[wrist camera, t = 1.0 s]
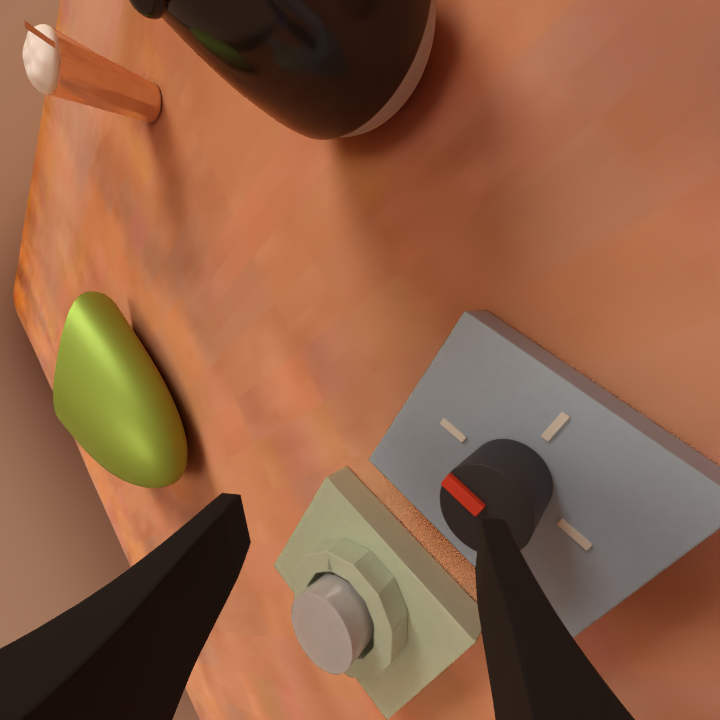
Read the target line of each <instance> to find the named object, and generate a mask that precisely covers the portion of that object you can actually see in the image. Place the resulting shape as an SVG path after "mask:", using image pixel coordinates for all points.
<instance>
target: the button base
mask: <svg viewBox="0 0 720 720" xmlns="http://www.w3.org/2000/svg"><path fill="white" fill-rule="evenodd" d="M274 567H275V568H276V569H277V571H278V572H279V574H280V575H281V576H282V578H283V579H284V580H285V582H286V583H287V585H288V586H289V587H290V589H291V590H292V591H293V593H294V600H295V598H296V597H297V596H298V595H299V594H300V593H301V592H303V591H304V590H305V589H306V588H308V587H309V586H310V585H311V584H312V583H314V582H315V581H316V580H317V579H318V578H320V577H321V576H322V575H325V574H336V575H339V576H340V577H342V578H344V579H346V580H348V581H349V582H350V584H351V585H352V586H353V587H354V588H355V590H356V591H357V592H358V593H359V595H360V596H361V597H362V598H363V600H364V601H365V602H366V605H367V608H368V610H369V613H370V616H371V618H372V621H373V636H372V639H371V642H370V643H369V645H368V646H367V647H366V648H365V650H364V651H363V652H362V653H361V654H360V656H359V657H358V658H357V659H356V660H355V662H354V663H353V664H352V665H351V666H350V668H349V669H348V670H347V671H346V672H344V673H345V674H346V675H347V676H349V677H352V678H356V679H357V680H358V682H359V683H360V684H361V686H362V687H363V688H364V690H365V691H366V692H367V694H368V695H369V697H370V698H371V699H372V701H373V702H374V703H375V705H376V706H377V708H378V709H379V710H380V712H381V713H382V714H383V716H384V717H385V718H386V720H388V719H389V718H390V717H392V716H393V715H394V714H395V713H396V712H397V711H398V710H399V709H401V708H402V707H403V706H404V705H405V704H406V703H407V702H409V701H410V700H411V699H412V698H413V697H414V696H415V695H417V694H418V693H419V692H420V691H421V690H422V689H423V688H425V687H426V686H427V685H428V684H429V683H430V682H431V681H433V680H434V679H435V678H436V677H437V676H438V675H439V674H441V673H442V672H443V671H444V670H445V669H446V668H447V667H448V666H450V665H451V664H452V663H453V662H454V661H455V660H456V659H458V658H459V657H460V656H461V655H462V654H463V653H464V652H466V651H467V650H468V649H469V648H470V647H471V646H472V645H474V644H475V643H476V641H477V639H478V637H479V635H480V633H481V631H482V630H481V624H480V618H479V612H478V604H477V603H476V602H475V601H474V600H473V599H472V598H471V597H470V596H469V595H468V594H467V593H466V592H465V591H464V589H463V588H462V587H461V586H460V585H459V584H458V583H457V582H456V581H455V580H454V579H453V578H452V577H451V576H450V575H449V574H448V573H447V572H446V570H445V569H444V568H443V567H442V566H441V565H440V564H439V563H438V562H437V561H436V560H435V559H434V558H433V557H432V556H431V555H430V554H429V552H428V551H427V550H426V549H425V548H424V547H423V546H422V545H421V544H420V543H419V542H418V541H417V540H416V539H415V538H414V537H413V536H412V535H411V533H410V532H409V531H408V530H407V529H406V528H405V527H404V526H403V525H402V524H401V523H400V522H399V521H398V520H397V519H396V518H395V517H394V516H393V514H392V513H391V512H390V511H389V510H388V509H387V508H386V507H385V506H384V505H383V504H382V503H381V502H380V501H379V500H378V499H377V498H376V496H375V495H374V494H373V493H372V492H371V491H370V490H369V489H368V488H367V487H366V486H365V485H364V484H363V483H362V482H361V481H360V480H359V479H358V477H357V476H356V475H355V474H354V473H353V472H352V471H351V470H350V469H349V468H348V467H347V466H346V467H344V468H342V469H340V470H339V471H337V472H335V473H333V474H331V475H329V476H327V477H326V478H325V480H324V482H323V483H322V485H321V487H320V488H319V490H318V492H317V493H316V495H315V497H314V498H313V500H312V502H311V503H310V505H309V507H308V508H307V510H306V512H305V513H304V515H303V517H302V519H301V520H300V522H299V524H298V525H297V527H296V529H295V530H294V532H293V534H292V535H291V537H290V539H289V540H288V542H287V544H286V545H285V547H284V549H283V550H282V552H281V554H280V555H279V557H278V559H277V560H276V562H275V564H274Z"/></svg>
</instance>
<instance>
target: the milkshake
mask: <svg viewBox="0 0 720 720" xmlns="http://www.w3.org/2000/svg"><path fill="white" fill-rule="evenodd" d="M24 26H25V28H26V29H27V30H29V31H28V33H27V38H26V41H25V43H24V47H23V61H24V65H25V69H26V72H27V76H28V78H29V80H30V81H31V83H32V84H33V86H34V87H35V88H36V89H37V90H38V91H39V92H40V93H42V94H44V95H49V96H53V97H57V98H60V99H64V100H68V101H72V102H76V103H80V104H84V105H88V106H92V107H95V108H99V109H102V110H106V111H109V112H113V113H117V114H120V115H124V116H127V117H131V118H134V119H138V120H141V121H145V122H148V123H152V122H154V121H155V120H156V119H157V118H158V115H159V112H160V110H161V94H160V91H159V87H158V86H157V85H155V84H154V83H152V82H150V81H148V80H146V79H144V78H143V77H141V76H139V75H137V74H135V73H133V72H131V71H129V70H127V69H125V68H124V67H122V66H120V65H118V64H116V63H114V62H112V61H110V60H108V59H106V58H105V57H103V56H101V55H99V54H97V53H95V52H94V51H92V50H91V49H89V48H88V47H86V46H84V45H82V44H81V43H79V42H77V41H75V40H74V39H72V38H70V37H68V36H66V35H65V34H63V33H61V32H59V31H58V30H56V29H54V28H52V27H50V26H49V25H46V24H40V25H37V26H35V27H33V26H31V25H30V24H29V23H27V22H26V21H24Z"/></svg>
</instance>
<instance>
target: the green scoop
mask: <svg viewBox="0 0 720 720" xmlns="http://www.w3.org/2000/svg"><path fill="white" fill-rule="evenodd" d="M53 401H54V402H53V403H54V409H55V413H56V415H57V417H58V419H59V420H60V421H61V422H62V424H63V425H64V426H65V427H66V429H67V430H68V431H69V432H70V433H71V435H72V436H73V437H74V438H75V439H76V441H77V442H78V443H79V444H80V445H81V446H82V447H83V448H84V450H85V451H86V452H87V453H88V454H89V455H90V456H91V457H92V458H93V459H94V460H95V461H96V462H98V463H99V464H100V465H101V466H102V467H103V468H105V469H106V470H107V471H109V472H110V473H112V474H113V475H115V476H116V477H118V478H120V479H122V480H124V481H126V482H128V483H131V484H134V485H137V486H141V487H147V488H161V487H166V486H169V485H171V484H173V483H175V482H176V481H178V480H179V479H180V477H181V476H182V475H183V473H184V471H185V468H186V464H187V455H188V452H187V441H186V436H185V432H184V428H183V424H182V421H181V418H180V415H179V413H178V410H177V408H176V405H175V403H174V401H173V399H172V396H171V394H170V392H169V390H168V388H167V386H166V384H165V382H164V381H163V379H162V377H161V375H160V373H159V372H158V370H157V368H156V366H155V365H154V363H153V361H152V359H151V358H150V356H149V355H148V353H147V351H146V350H145V348H144V346H143V345H142V343H141V342H140V340H139V339H138V337H137V335H136V334H135V332H134V331H133V329H132V328H131V326H130V325H129V323H128V322H127V320H126V319H125V317H124V316H123V314H122V313H121V311H120V310H119V308H118V307H117V305H116V304H115V303H114V301H113V300H112V299H111V298H109V297H108V296H106V295H104V294H102V293H99V292H92V291H91V292H85V293H83V294H81V295H80V296H79V297H78V298H77V299H76V300H75V301H74V303H73V305H72V307H71V309H70V311H69V313H68V316H67V319H66V322H65V325H64V329H63V333H62V337H61V341H60V346H59V351H58V357H57V363H56V369H55V377H54V388H53Z"/></svg>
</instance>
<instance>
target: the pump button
mask: <svg viewBox="0 0 720 720" xmlns="http://www.w3.org/2000/svg"><path fill="white" fill-rule="evenodd" d="M291 617H292V624H293V628H294V632H295V634H296V637H297V639H298V641H299V643H300V645H301V647H302V649H303V650H304V652H305V653H306V655H307V656H308V657H309V658H310V659H311V661H312V662H313V663H314V664H315V665H317V666H318V667H319V668H320V669H322V670H324V671H325V672H327V673H330V674H335V675H339V674H342V673H344V672H346V671H347V670H348V669H349V668H350V666H351V665H352V664H353V663H354V662H355V660H356V659H357V658H358V657H359V656H360V654H361V653H362V652H363V651H364V650H365V648H366V647H367V646H368V645H369V643H370V642H371V639H372V636H373V621H372V618H371V616H370V613H369V610H368V608H367V605H366V602H365V601H364V600H363V598H362V597H361V596H360V595H359V593H358V592H357V591H356V590H355V588H354V587H353V586H352V585H351V584H350V582H349V581H348V580H346V579H344V578H342V577H340V576H339V575H336V574H325V575H322V576H321V577H320V578H318V579H317V580H316V581H315V582H314V583H312V584H311V585H310V586H309V587H308V588H306V589H305V590H304V591H303V592H301V593H300V594H299V595H298V596H297V597H296V598H295V600H294V602H293V605H292V610H291Z"/></svg>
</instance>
